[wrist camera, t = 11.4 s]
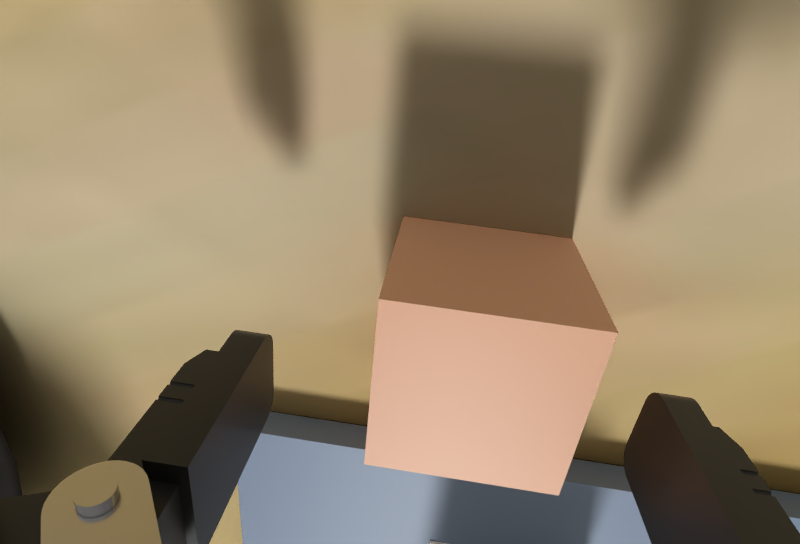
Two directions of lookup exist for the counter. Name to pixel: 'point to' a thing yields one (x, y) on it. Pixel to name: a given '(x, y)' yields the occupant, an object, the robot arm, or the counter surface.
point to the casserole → (8, 472)
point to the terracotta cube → (485, 355)
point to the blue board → (420, 498)
